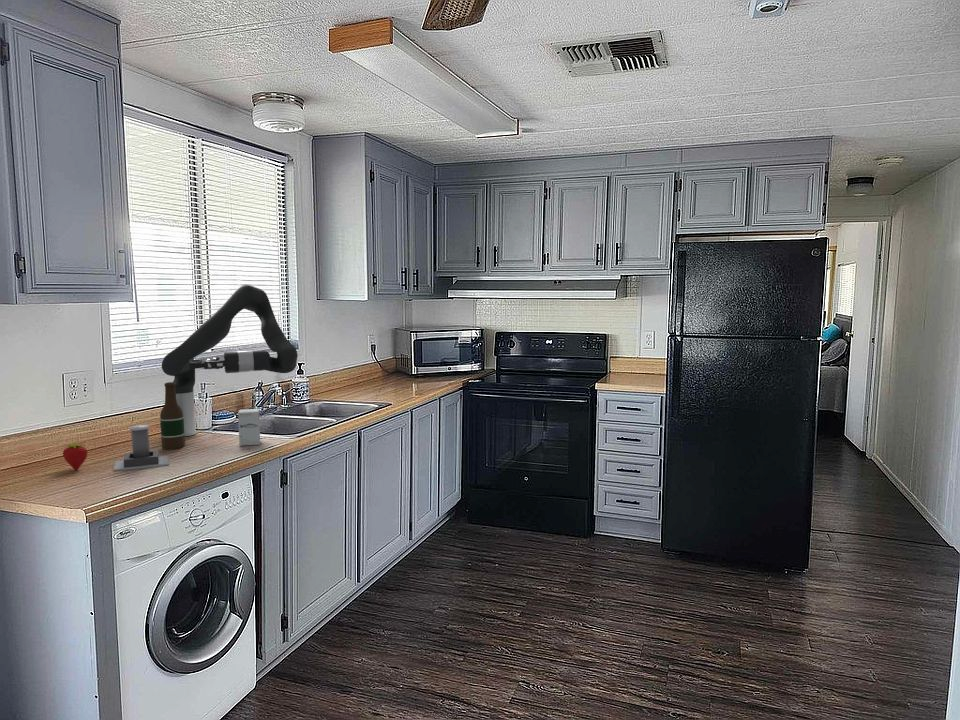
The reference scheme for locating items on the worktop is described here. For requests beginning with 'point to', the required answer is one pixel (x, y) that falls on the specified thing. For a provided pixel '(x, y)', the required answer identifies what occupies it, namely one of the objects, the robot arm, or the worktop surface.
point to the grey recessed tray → (141, 461)
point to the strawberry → (75, 455)
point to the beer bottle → (172, 420)
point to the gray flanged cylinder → (140, 441)
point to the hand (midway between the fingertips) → (188, 364)
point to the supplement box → (249, 427)
